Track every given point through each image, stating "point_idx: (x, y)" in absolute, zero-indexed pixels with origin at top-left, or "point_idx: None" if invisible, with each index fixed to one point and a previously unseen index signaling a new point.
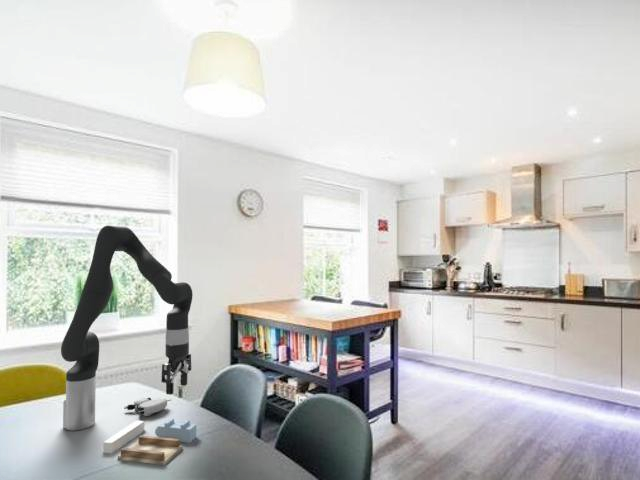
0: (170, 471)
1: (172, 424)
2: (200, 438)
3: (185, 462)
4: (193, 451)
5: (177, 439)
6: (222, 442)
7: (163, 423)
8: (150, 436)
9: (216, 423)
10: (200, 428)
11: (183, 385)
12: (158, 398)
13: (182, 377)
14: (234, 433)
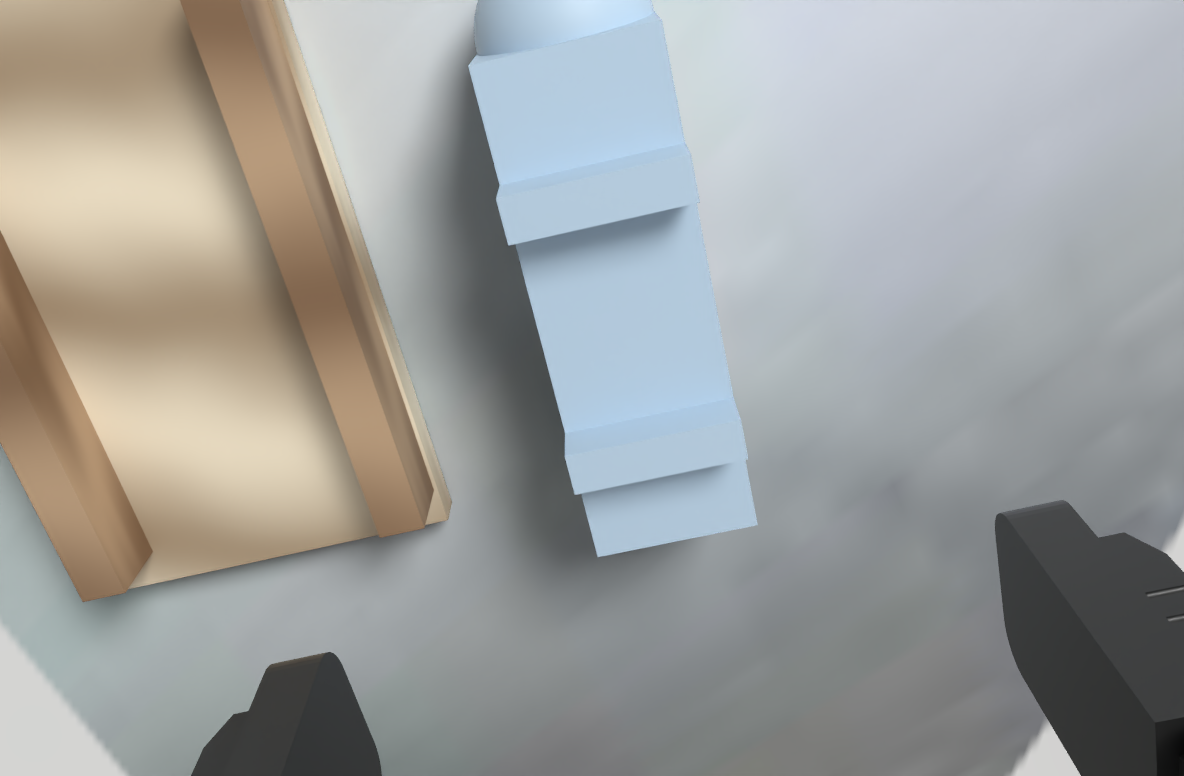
0: (103, 682)
1: (617, 233)
2: None
3: None
4: (468, 624)
5: (406, 510)
6: (738, 739)
7: (583, 70)
8: (277, 131)
9: (1135, 419)
10: (948, 335)
11: (1001, 579)
12: None
13: (1110, 710)
14: (952, 728)
